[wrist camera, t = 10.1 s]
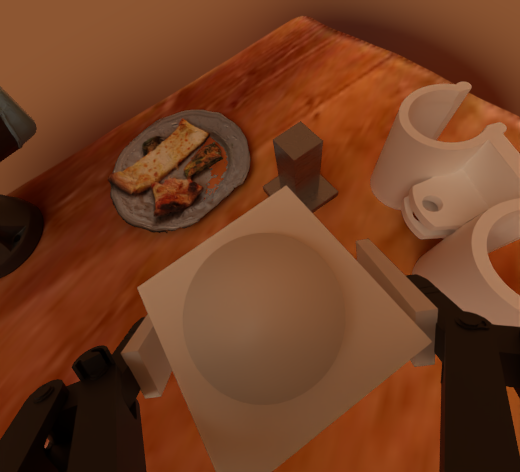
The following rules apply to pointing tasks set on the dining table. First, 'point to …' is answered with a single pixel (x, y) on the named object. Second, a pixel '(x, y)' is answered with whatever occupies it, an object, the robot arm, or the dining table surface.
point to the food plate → (177, 170)
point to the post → (301, 167)
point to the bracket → (454, 199)
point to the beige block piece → (274, 333)
